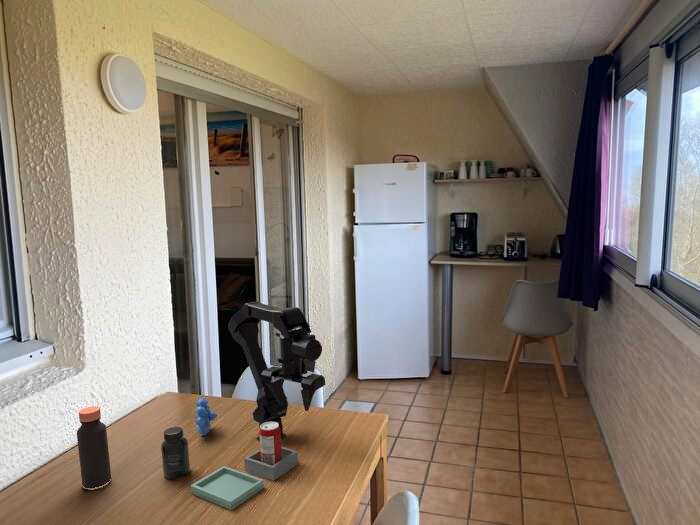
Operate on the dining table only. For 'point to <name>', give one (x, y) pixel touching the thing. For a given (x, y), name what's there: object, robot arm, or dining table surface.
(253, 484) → the tray
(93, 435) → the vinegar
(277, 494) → the dining table surface
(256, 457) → the frame
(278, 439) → the soda can
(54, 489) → the dining table surface
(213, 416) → the grapes
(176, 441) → the supplement bottle
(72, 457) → the dining table surface
